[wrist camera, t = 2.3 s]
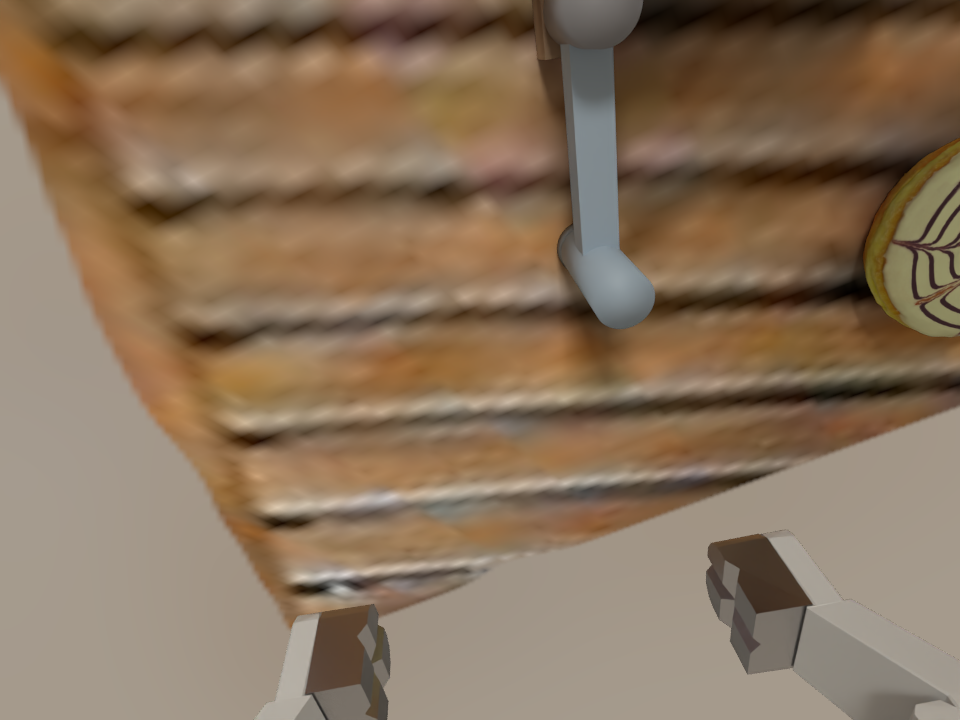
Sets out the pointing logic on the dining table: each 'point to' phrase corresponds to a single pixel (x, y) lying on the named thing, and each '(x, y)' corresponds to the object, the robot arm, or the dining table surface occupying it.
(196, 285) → the dining table surface
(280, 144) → the dining table surface
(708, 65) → the dining table surface
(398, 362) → the dining table surface
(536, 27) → the tan boxy piece
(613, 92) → the lever handle with knob
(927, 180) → the decorated donut
